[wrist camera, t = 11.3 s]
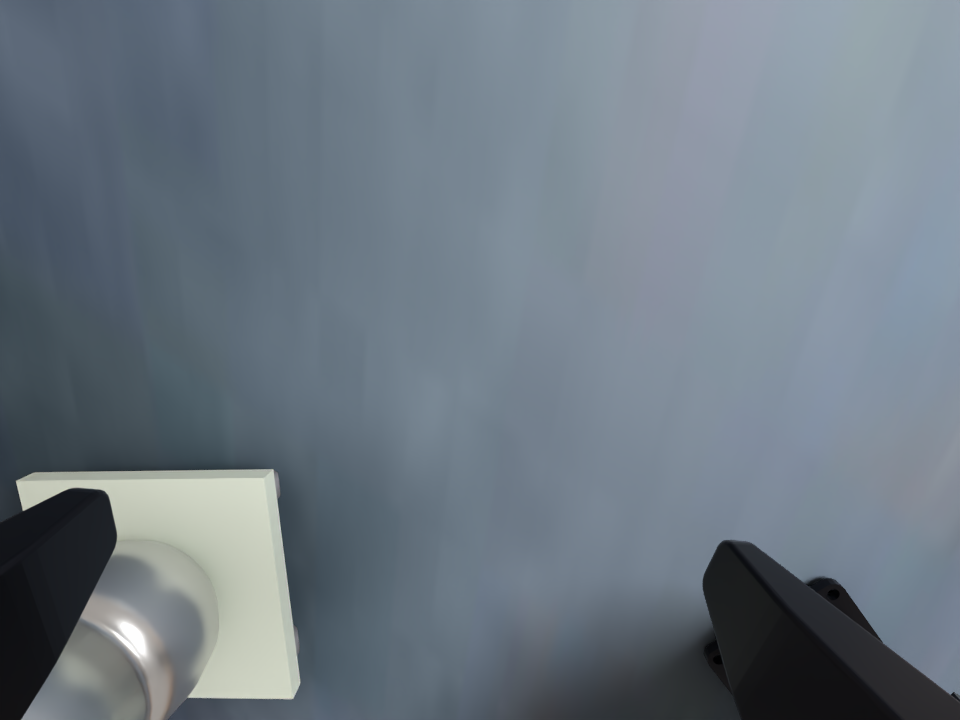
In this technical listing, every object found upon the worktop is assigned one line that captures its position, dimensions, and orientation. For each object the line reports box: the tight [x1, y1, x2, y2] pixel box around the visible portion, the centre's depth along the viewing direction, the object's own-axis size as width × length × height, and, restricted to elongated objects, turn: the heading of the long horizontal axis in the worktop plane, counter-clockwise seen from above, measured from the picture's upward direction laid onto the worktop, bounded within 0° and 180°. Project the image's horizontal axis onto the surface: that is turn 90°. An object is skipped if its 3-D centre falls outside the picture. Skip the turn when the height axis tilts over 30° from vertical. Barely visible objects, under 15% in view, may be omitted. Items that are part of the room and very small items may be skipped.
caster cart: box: [16, 469, 300, 699], centre depth 22 cm, size 10×10×2 cm
